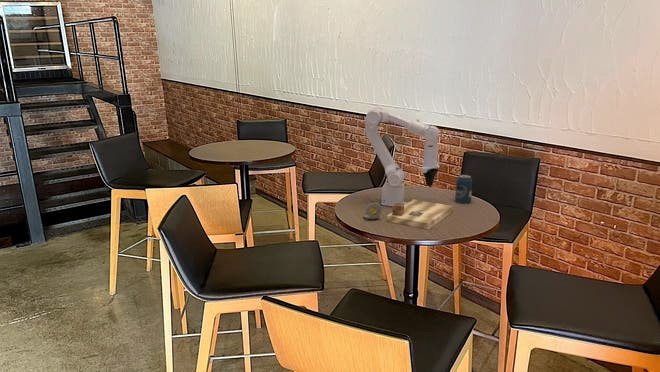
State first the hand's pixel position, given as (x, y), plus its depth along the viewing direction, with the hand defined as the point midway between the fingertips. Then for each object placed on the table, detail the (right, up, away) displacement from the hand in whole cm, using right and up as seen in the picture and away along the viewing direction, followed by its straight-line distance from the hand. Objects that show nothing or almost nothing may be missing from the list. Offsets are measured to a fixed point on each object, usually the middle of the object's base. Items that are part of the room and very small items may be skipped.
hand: (429, 185), depth 218 cm
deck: (-5, -13, -9) cm, 16 cm away
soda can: (+17, -8, +10) cm, 21 cm away
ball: (-8, -12, -14) cm, 20 cm away
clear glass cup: (-26, -14, -11) cm, 31 cm away
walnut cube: (-15, -12, -14) cm, 24 cm away
